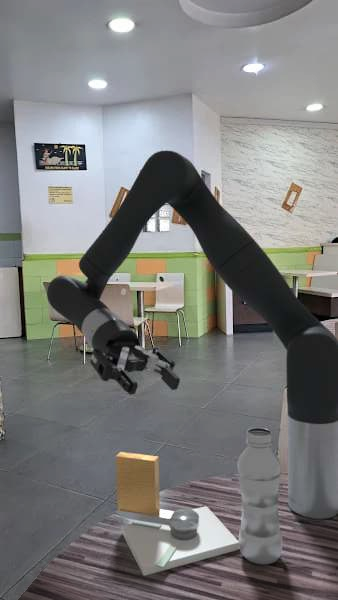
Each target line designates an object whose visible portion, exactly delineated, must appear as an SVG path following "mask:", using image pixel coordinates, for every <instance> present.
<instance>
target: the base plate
mask: <svg viewBox="0 0 338 600" xmlns="http://www.w3.org/2000/svg"><path fill="white" fill-rule="evenodd" d="M191 510H193V511H195V512H196V513H197V514H198V515H199V526H198V528H197V529H195V530H194V531H191V532H185V533H182V532H176V531H174V530H172V529H171V528H170V527H169V526H168V525H162V524H156V523H151V522H145V521H139V520H133V521H132V522H131V523H128V524H124V525H121V533H122V537H123V538H124V540H125V542H126V543H127V546H128V548H129V550H130V551H131V554H132V555H133V558H134V560H135V562H136V563H137V566H138V567H139V569H140V572H141V574H142V576H144V577H145V576H149V575H152V574H156V573H159V572H163V571H167V570H169V569H174V568H177V567H181V566H185V565H188V564H192V563H195V562H199V561H202V560H206V559H209V558H213V557H217V556H222V555H225V554H227V553H228V554H229V553H231V552H235V551H239V550H240V546H239V539H237V538H236V537H235V536H234V535H233V534H232V533H231V531H230V530H229V529H228V528H227V527H226V525H224V524H223V523H222V521H221V520H220V519H219V518H218V517H217V516H216V514H214V513H213V512H212V510H211V509H210V508H209V507H208V506H207V505H206V506H201V507H197V508H196V507H195V508H193V509H191Z"/></svg>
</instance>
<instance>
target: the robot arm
mask: <svg viewBox="0 0 338 600" xmlns="http://www.w3.org/2000/svg"><path fill="white" fill-rule="evenodd" d="M166 204H167V205H169V206H170V208H172V209H173V210H174V211H175V212H176V214H178V215H179V216H180V218H182V219H183V221H184V222H186V224H187V225H188V226H189V228H190V229H191V231H192V232H193V233H194V236H195V237H196V240H197V242H198V243H199V246H200V247H201V250H202V251H203V254H204V256H205V257H206V259H207V260H208V262H209V264H210V265H211V267H212V268H213V269H214V271H215V272H216V274H217V275H218V276H219V278H220V279H222V281H223V282H224V284H225V285H226V286H227V287H228V288H229V289H230V291H232V293H233V294H235V296H236V297H238V298H239V299H240V300H241V301H242V302H243V303H245V305H246V306H248V307H249V308H250V309H251V310H252V311H254V312H255V313H257V315H259V316H260V317H261V318H262V319H263V321H265V322H266V323H267V324H268V326H270V328H271V330H272V331H273V332H274V334H275V335H276V336H277V337H278V339H279V341H280V342H281V343H282V345H283V346H284V348H285V351H286V368H285V369H286V403H287V505H288V507H289V509H290V510H292V511H293V512H294V513H296V514H298V515H300V516H302V517H305V518H309V519H315V520H316V519H317V520H324V519H330V518H333V517H335V516H337V515H338V339H337V337H336V335H335V334H334V333H333V332H332V331H331V330H329V329H328V328H327V327H326V326H325V325H324V324H323V323H322V322H321V321H319V319H318V318H317V317H315V315H314V314H312V313H311V312H310V310H309V309H308V308H307V307H306V306H305V305H304V304H303V303H302V302H301V300H299V298H298V297H297V296H296V295H295V293H294V292H293V290H292V289H291V287H290V285H289V284H288V282H287V281H286V279H285V278H284V277H283V275H282V273H281V272H280V270H279V269H278V267H276V265H275V264H274V262H273V261H272V260H271V258H270V257H269V256H268V255H267V253H266V252H265V251H264V249H262V247H261V246H260V244H259V243H258V242H257V241H256V239H254V238H253V237H252V236H251V234H250V233H249V232H248V231H247V230H246V229H245V228H244V227H243V225H241V224H240V222H238V221H237V219H236V218H234V216H232V214H230V213H229V211H227V210H226V209H225V208H224V207H223V206H222V204H220V203H219V201H218V200H217V199H216V197H215V196H214V194H213V193H212V191H211V190H210V188H209V187H208V186H207V184H206V183H205V180H204V179H203V178H202V177H201V175H200V173H199V171H198V170H197V168H196V167H195V165H194V164H193V163H192V162H191V160H189V159H188V158H187V157H185V156H183V155H182V154H181V153H178V152H177V151H175V150H171V149H161V150H158V151H156V152H155V153H153V154H152V155H150V156H149V157H148V158H147V160H146V161H145V163H144V165H143V166H142V167H141V169H140V171H139V173H138V175H137V177H136V179H135V180H134V182H133V183H132V186H131V187H130V189H129V191H128V193H127V195H126V196H125V197H124V200H122V202H121V204H120V206H119V208H118V209H117V211H116V212H115V213H114V214H113V216H112V218H111V219H110V220H109V222H108V224H107V225H106V226H105V227H104V229H103V230H102V231H101V233H100V234H99V235H98V236H97V238H96V239H95V240H94V241H93V242H92V244H91V245H90V247H88V249H87V250H86V252H85V253H84V254H83V255H82V257H81V258H80V260H79V262H78V267H79V270H80V272H81V273H82V274H83V275H84V276H85V277H86V278H87V279H86V281H84V282H83V281H81V280H79V279H77V278H74V277H71V276H68V275H63V274H62V275H58V276H56V277H54V278H53V279H52V280H51V281H50V282H49V284H48V286H47V289H46V296H47V300H48V303H49V305H50V306H51V307H52V308H53V310H55V311H56V312H57V313H58V314H59V315H61V316H62V317H64V318H65V319H67V320H68V321H69V322H71V323H73V324H74V325H75V327H76V329H78V331H79V332H80V333H81V334H82V336H83V337H84V338H85V340H86V342H87V343H88V345H89V346H90V348H92V354H91V357H90V361H89V363H90V364H91V366H92V367H93V369H94V370H95V372H96V374H98V376H99V377H100V379H101V380H102V381H104V382H108V381H110V380H112V381H113V382H114V383H118V385H119V386H120V387H121V388H122V389H123V390H124V392H126V393H127V394H128V395H130V396H131V395H136V391H137V389H138V382H137V381H136V379H135V378H134V377H133V376H132V374H130V373H131V372H132V373H134V372H142V373H145V374H147V375H149V376H151V375H154V376H157V377H159V378H160V379H161V380H162V381H163V382H164V383H165V385H167V386H168V388H169V389H171V390H172V391H174V390H175V391H177V389H178V387H179V384H180V383H181V381H180V380H181V379H180V377H179V376H178V375H177V374H176V372H174V369H175V366H176V365H177V364H176V361H175V360H174V359H173V358H172V357H171V356H169V354H167V353H166V352H165V351H164V350H163V349H162V348H160V347H159V346H157V345H154V346H153V347H152V349H150V350H148V349H147V348H145V347H143V346H142V345H141V343H140V339H139V336H138V334H137V333H136V332H135V331H134V330H133V329H132V328H131V327H130V326H129V325H128V324H127V323H126V322H125V321H124V320H123V319H122V318H121V317H120V316H119V315H118V314H116V313H115V312H113V311H112V310H111V309H110V308H109V307H108V306H107V305H106V304H105V303H104V302H103V301H101V298H102V295H103V293H104V290H105V288H106V287H107V285H108V282H109V280H110V279H111V277H112V276H113V275H114V274H115V273H116V272H117V270H119V268H120V267H121V265H122V264H123V263H124V262H125V261H126V259H127V258H128V256H129V255H130V253H131V251H132V250H133V248H134V246H135V244H136V242H137V240H138V238H139V236H140V234H141V233H142V231H143V229H144V228H145V226H146V224H148V222H149V220H151V218H152V217H153V216H155V214H157V212H158V211H159V210H160V209H161V208H163V207H164V206H165V205H166ZM149 360H150V361H151V363H150V366H149V367H147V365H148V362H149ZM156 366H157V367H158V368H159V369H160V370H159V369H157V368H156Z"/></svg>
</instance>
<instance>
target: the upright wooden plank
mask: <svg viewBox="0 0 338 600" xmlns="http://www.w3.org/2000/svg"><path fill="white" fill-rule="evenodd" d="M159 466H160V465H159V456H157V455H156V456H155V455H147V454H141V453H133V452H124V451H120V452H119V453H117V455H115V469H116V470H115V471H116V475H115V476H116V495H117V499H116V502H117V513H119V518H122V519H129V520H133V521H134V520H139V521H145V522H151V523H156V524H162V525H168V526H169V527H170V528H171V529H172V530H174V531H176V532H182V533H185V532H191V531H194V530H195V529H197V528H198V526H199V515H198V514H197V513H196V512H195V511H193V510H192V509H188V508H179V509H174V510H169V509H161V504H160V502H161V501H160V469H159V468H160V467H159Z"/></svg>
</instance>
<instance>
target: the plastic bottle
mask: <svg viewBox="0 0 338 600" xmlns="http://www.w3.org/2000/svg"><path fill="white" fill-rule="evenodd" d="M245 444H246V445H247V447H246V448H245V449H244V450H243V452H241V454H240V456H239V458H238V461H237V463H236V464H237V465H236V466H237V473H238V474H237V475H238V479H239V480H238V481H239V485H240V493H241V495H240V496H241V516H240V517H241V520H240V527H239V532H238V541H239V550H240V553H241V554H242V555H243V556H244V558H245V559H246V560H247V561H249V562H251V563H252V564H255V565H256V564H257V565H264V566H265V565H271V564H273V563H276V562H277V561H278V559H280V557H281V555H282V552H283V551H282V550H283V545H284V542H283V535H282V530H281V528H280V526H281V525H280V516H279V489H280V482H281V475H282V465H281V462H280V459H279V457H278V456H277V454H276V453H275V452H274V450H273V448H272V446H273V433H272V431H271V430H270V429H268V428H264V427H251V428H248V429H247V431H246V439H245Z"/></svg>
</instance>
